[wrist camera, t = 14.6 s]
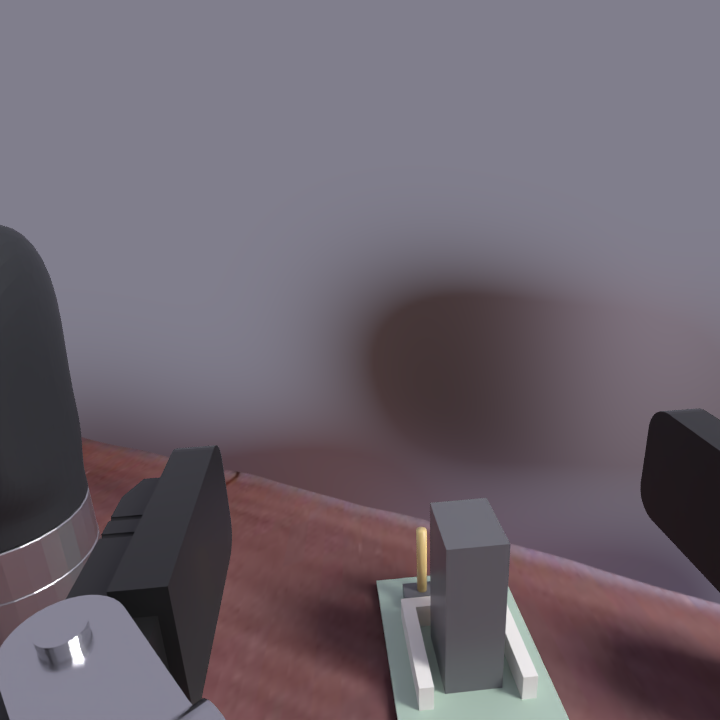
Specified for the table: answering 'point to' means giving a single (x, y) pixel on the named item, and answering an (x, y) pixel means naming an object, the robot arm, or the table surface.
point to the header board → (421, 672)
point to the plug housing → (468, 594)
